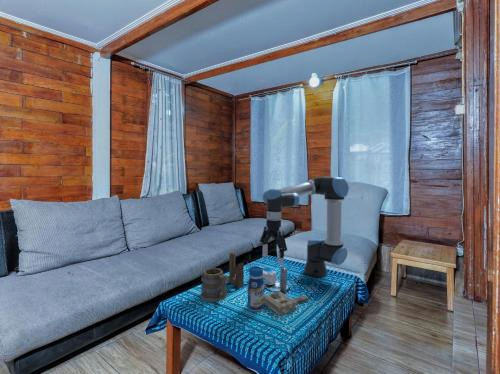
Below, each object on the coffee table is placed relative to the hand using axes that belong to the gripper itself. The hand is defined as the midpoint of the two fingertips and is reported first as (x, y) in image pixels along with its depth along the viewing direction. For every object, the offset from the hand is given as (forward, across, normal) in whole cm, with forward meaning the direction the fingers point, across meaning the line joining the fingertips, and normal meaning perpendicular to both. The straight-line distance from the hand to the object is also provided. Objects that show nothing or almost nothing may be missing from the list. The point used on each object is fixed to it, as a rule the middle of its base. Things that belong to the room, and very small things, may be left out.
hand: (272, 260), depth 141 cm
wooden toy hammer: (+22, -29, -5) cm, 37 cm away
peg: (+22, -5, +12) cm, 26 cm away
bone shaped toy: (+22, -23, +12) cm, 34 cm away
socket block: (+22, +5, +1) cm, 23 cm away
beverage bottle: (+23, +1, -10) cm, 25 cm away
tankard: (+23, -17, -23) cm, 37 cm away
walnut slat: (+22, +7, +13) cm, 27 cm away
